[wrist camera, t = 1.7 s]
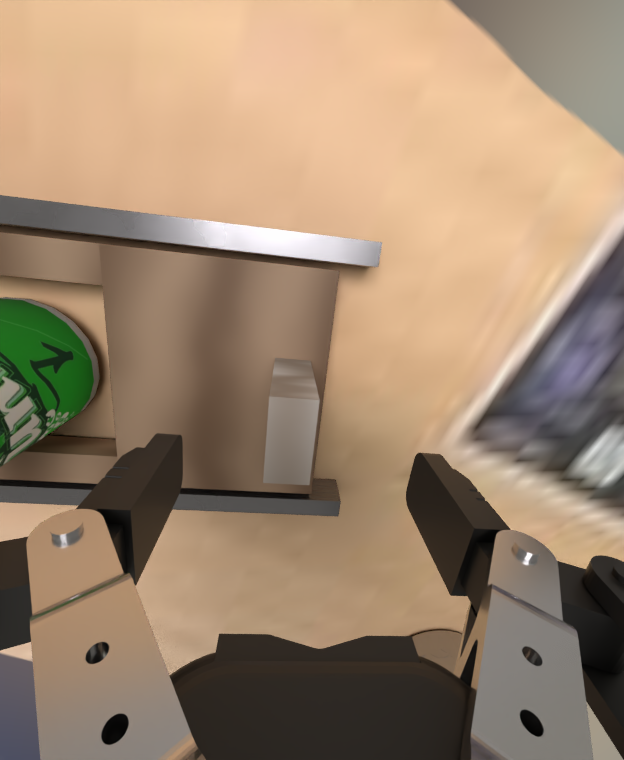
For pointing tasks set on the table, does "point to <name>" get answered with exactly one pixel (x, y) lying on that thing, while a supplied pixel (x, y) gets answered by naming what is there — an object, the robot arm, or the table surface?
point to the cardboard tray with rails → (195, 362)
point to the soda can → (40, 373)
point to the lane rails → (201, 236)
